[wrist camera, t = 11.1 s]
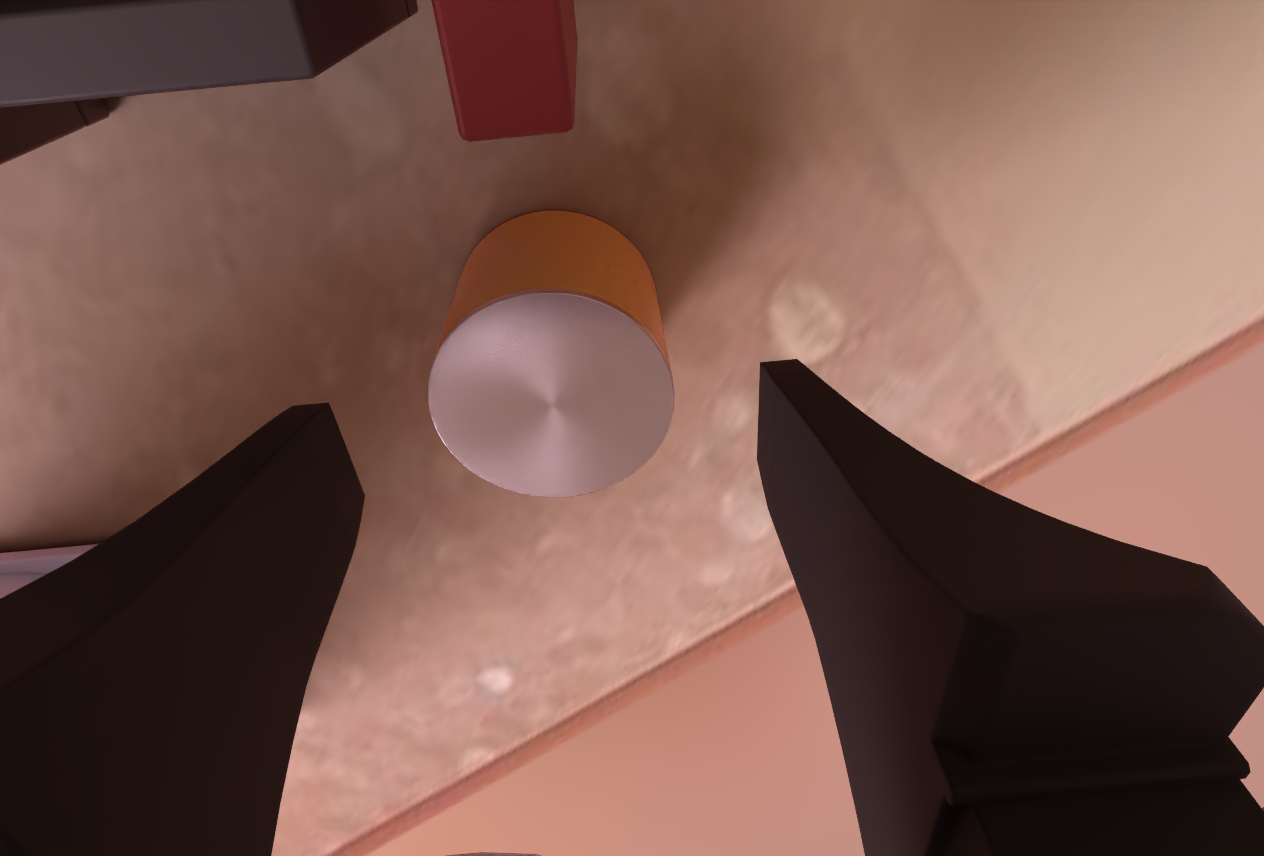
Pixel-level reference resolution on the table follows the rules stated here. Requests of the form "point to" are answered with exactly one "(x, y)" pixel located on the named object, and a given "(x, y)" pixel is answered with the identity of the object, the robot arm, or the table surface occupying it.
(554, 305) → the coffee capsule
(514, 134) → the drawer
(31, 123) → the coffee machine
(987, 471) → the table surface
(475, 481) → the table surface
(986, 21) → the table surface
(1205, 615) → the robot arm
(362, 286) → the table surface
